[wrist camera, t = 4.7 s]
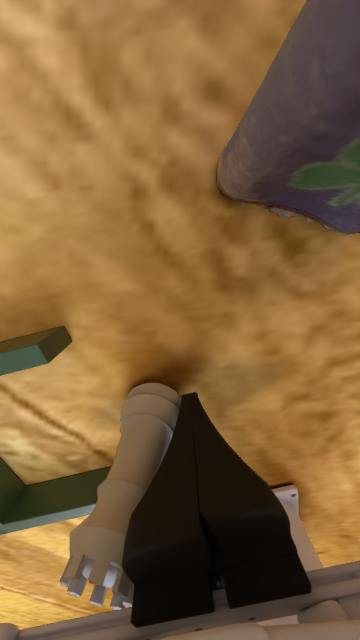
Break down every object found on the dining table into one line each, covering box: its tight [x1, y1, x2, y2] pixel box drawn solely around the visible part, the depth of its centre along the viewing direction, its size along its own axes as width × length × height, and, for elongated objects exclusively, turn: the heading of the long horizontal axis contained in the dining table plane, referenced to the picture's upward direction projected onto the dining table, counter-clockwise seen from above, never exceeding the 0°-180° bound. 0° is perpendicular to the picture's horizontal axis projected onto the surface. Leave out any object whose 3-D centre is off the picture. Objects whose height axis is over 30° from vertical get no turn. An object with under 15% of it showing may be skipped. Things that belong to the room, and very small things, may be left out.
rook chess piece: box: [60, 383, 181, 610], centre depth 10 cm, size 4×4×8 cm
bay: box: [0, 326, 111, 535], centre depth 13 cm, size 14×11×2 cm
